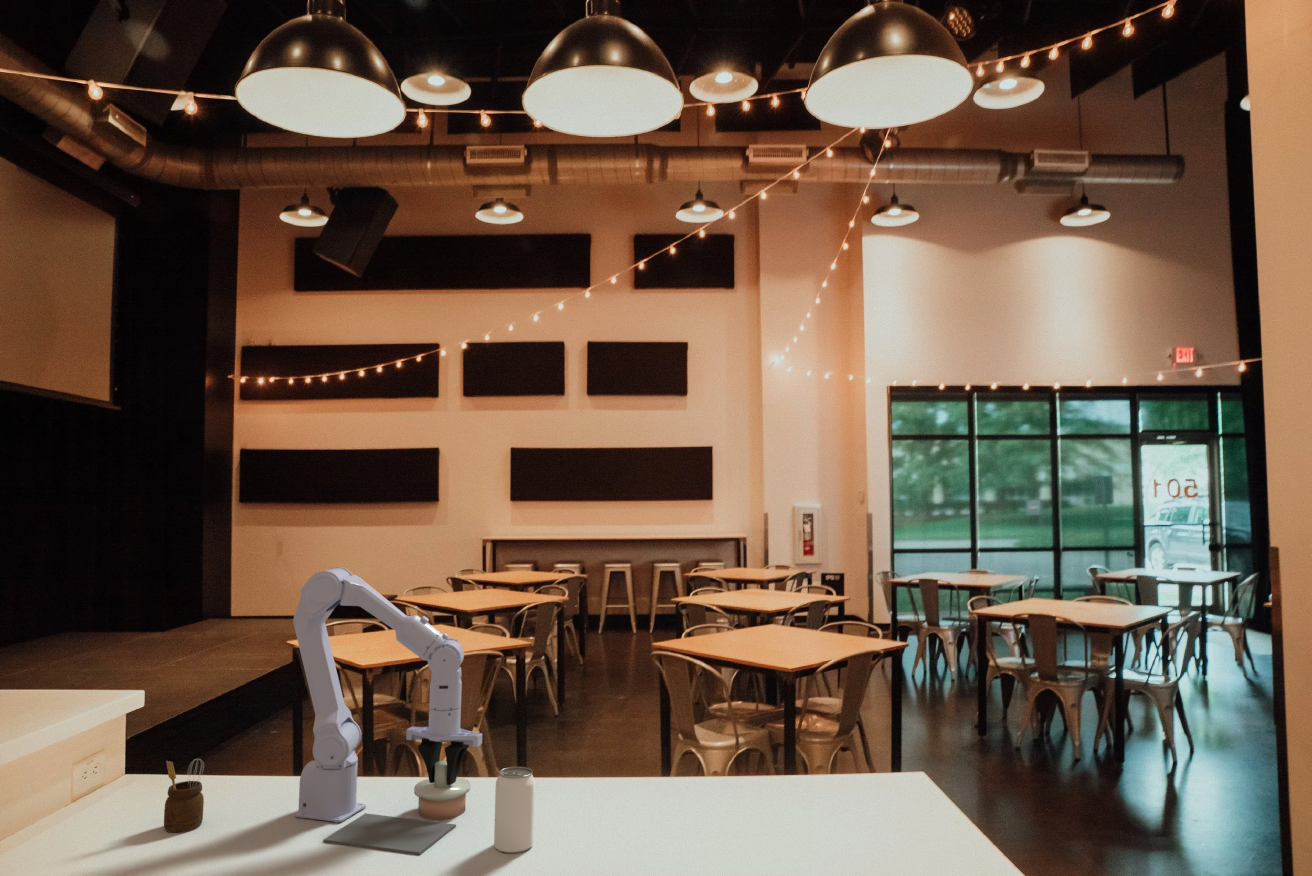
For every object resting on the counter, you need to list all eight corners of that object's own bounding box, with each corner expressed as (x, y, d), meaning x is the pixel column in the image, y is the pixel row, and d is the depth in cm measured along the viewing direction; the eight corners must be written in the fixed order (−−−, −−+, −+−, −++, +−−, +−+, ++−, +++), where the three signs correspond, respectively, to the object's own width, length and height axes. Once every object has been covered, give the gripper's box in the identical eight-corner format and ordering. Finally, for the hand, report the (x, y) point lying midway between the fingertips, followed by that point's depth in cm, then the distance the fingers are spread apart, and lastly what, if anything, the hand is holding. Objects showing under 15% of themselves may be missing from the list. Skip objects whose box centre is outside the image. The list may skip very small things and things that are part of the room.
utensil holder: (210, 823, 146) (214, 753, 147) (176, 836, 140) (180, 763, 141) (187, 817, 148) (191, 748, 149) (153, 830, 143) (157, 758, 143)
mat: (323, 841, 139) (323, 839, 139) (365, 815, 151) (365, 813, 151) (420, 854, 134) (420, 852, 134) (455, 826, 146) (455, 824, 146)
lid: (403, 796, 150) (404, 768, 150) (431, 778, 160) (432, 752, 160) (453, 802, 148) (454, 774, 148) (479, 783, 157) (480, 757, 157)
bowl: (409, 816, 150) (409, 799, 151) (432, 800, 158) (433, 783, 159) (451, 821, 148) (452, 804, 148) (473, 804, 156) (473, 788, 157)
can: (525, 855, 135) (527, 779, 135) (487, 851, 136) (489, 776, 137) (538, 839, 141) (540, 767, 142) (502, 836, 142) (504, 764, 143)
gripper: (398, 708, 153) (395, 785, 152) (470, 715, 149) (468, 793, 148) (418, 700, 159) (416, 772, 158) (488, 706, 156) (485, 780, 155)
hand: (442, 782), depth 154 cm, fingers closed on lid, 3 cm apart
